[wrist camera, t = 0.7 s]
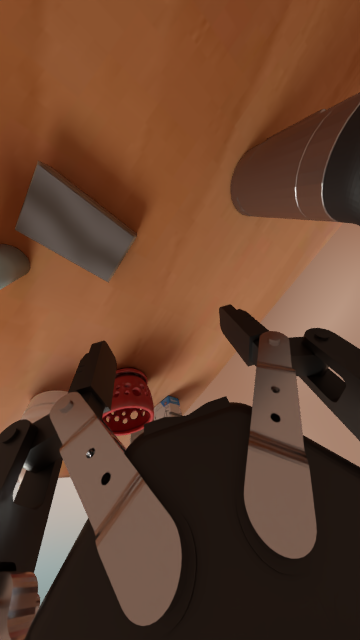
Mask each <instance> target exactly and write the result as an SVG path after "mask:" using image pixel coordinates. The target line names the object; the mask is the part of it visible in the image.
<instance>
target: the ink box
mask: <svg viewBox="0 0 360 640" xmlns="http://www.w3.org/2000/svg"><path fill="white" fill-rule="evenodd" d="M174 416H182V413H181V409H180V404H179V400H178V398H174V397H171V396H167V397H166V398H165V399H164V400H163V401H161V402H160V403H159V404H158V405H157V406H156V407H154V421H155V420H157V419H160V418H163V417H174Z"/></svg>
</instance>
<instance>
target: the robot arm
mask: <svg viewBox="0 0 360 640" xmlns="http://www.w3.org/2000/svg"><path fill="white" fill-rule="evenodd" d="M231 197H232V201H233V204H234V206H235V208H236V209H237V210H238V211H239V212H240V213H241V214H243V215H246V216H256V217H269V218H285V219H300V220H315V221H332V222H344V223H353V224H357V225H359V226H360V92H359V93H358V94H356V95H354V96H352V97H350V98H348V99H346V100H344V101H343V102H341V103H339V104H337V105H335V106H333V107H331V108H329V109H327V110H326V109H322V110H320V111H318V112H316V113H314V114H312V115H310V116H308V117H307V118H305V119H303V120H301V121H299V122H297V123H295V124H293V125H292V126H290V127H288V128H286V129H284V130H282V131H280V132H279V133H277V134H275V135H273V136H271V137H269V138H268V139H267V140H266V141H265V142H263V143H261V144H259V145H257V146H255V147H254V148H252V149H250V150H249V151H248V152H247V153H245V154H244V155H243V157H242V158H241V159H240V161H239V162H238V164H237V166H236V168H235V170H234V173H233V176H232V181H231ZM219 315H220V327H221V330H222V332H223V334H224V335H225V337H226V338H227V339H228V341H229V342H230V343H231V344H232V346H233V347H234V348H235V350H236V351H237V352H238V354H239V355H240V356H241V358H242V359H243V360H244V362H245V363H246V364H247V365H248V366H251V365H255V366H256V377H255V387H254V397H253V406H252V407H251V406H248V405H246V404H242V403H234V402H231V403H230V402H229V401H228V399H227V397H222V398H220V399H217V400H214V401H211V402H208V403H206V404H204V405H203V406H201V407H200V408H198V409H197V410H195V411H194V412H192V413H191V414H189V415H187V416H174V417H163V418H160V419H157V420H155V421H152V422H149V423H146V424H144V432H143V433H142V434H140V435H139V436H138V437H137V438H136V439H135V440H134V441H133V442H132V443H131V444H130V445H129V446H128V448H127V449H126V448H125V447H124V446H123V444H122V443H121V442H120V441H119V440H118V438H117V437H116V436H115V434H114V433H113V432H112V431H111V429H110V428H109V427H108V426H107V424H106V423H105V422H104V421H103V419H102V417H103V413H105V412H108V411H111V405H112V397H113V390H114V382H115V374H116V367H117V363H116V359H115V356H114V355H113V353H112V351H111V349H110V348H109V346H108V344H107V343H106V341H101V342H98V343H94V344H92V345H91V348H90V351H89V353H87V354H85V356H84V357H83V358H82V359H81V360H80V363H79V366H78V368H77V371H76V374H75V376H74V379H73V381H72V384H71V386H70V389H69V391H68V394H66V395H64V396H63V397H61V398H60V399H59V400H58V401H57V402H56V403H55V404H54V405H53V407H52V409H51V411H50V413H49V414H48V415H46V416H44V417H43V418H41V419H39V420H37V421H36V422H34V423H31V422H30V421H29V420H27V419H22V420H19V421H17V422H15V423H13V424H11V425H10V426H9V427H7V428H6V429H5V430H4V431H3V432H2V433H1V434H0V640H360V467H359V466H357V465H355V464H353V463H351V462H350V461H348V460H346V459H344V458H343V457H341V456H339V455H337V454H336V453H334V452H332V451H330V450H328V449H327V448H325V447H323V446H321V445H319V444H318V443H316V442H314V441H312V440H311V439H309V438H307V437H305V436H304V435H303V433H302V424H301V415H300V406H299V398H298V388H297V379H296V376H299V377H300V378H301V379H302V380H303V381H304V382H305V383H306V384H307V385H308V386H309V388H310V389H311V390H312V391H313V392H314V393H315V394H316V395H317V396H318V397H319V398H320V399H321V400H322V401H323V402H324V403H325V405H326V406H327V407H328V408H329V409H330V410H331V411H332V412H333V413H334V414H335V415H336V416H337V417H338V418H339V419H340V420H341V421H342V423H343V424H345V426H346V427H347V428H348V429H349V430H350V431H351V432H352V433H353V434H354V435H355V436H356V437H357V439H358V440H359V441H360V349H359V348H357V347H355V346H354V345H352V344H351V343H349V342H348V341H346V340H344V339H343V338H341V337H340V336H338V335H337V334H335V333H333V332H331V331H329V330H326V329H321V328H312V329H309V330H307V331H306V332H305V334H304V337H293V338H288V337H287V336H285V335H284V334H282V333H280V332H275V331H269V330H267V329H266V328H265V327H264V326H263V325H262V324H260V323H259V322H258V321H257V320H255V319H254V318H253V317H251V315H250V314H249V313H247V312H246V311H243V310H241V309H238V310H236V309H235V308H234V307H233V306H232V305H231V304H230V305H226V306H223V307H220V308H219ZM328 367H330V368H331V369H333V370H334V371H335V372H336V373H338V374H339V375H340V376H341V377H342V378H343V379H344V381H345V382H344V381H343V380H341V379H340V378H339V377H338V376H337V375H336V374H334V373H333V372H332V371H331V370H330V369H328ZM62 460H63V461H64V463H65V465H66V467H67V470H68V472H69V474H70V477H71V479H72V481H73V483H74V486H75V488H76V490H77V492H78V495H79V497H80V499H81V502H82V504H83V506H84V509H85V511H86V513H87V515H88V520H87V521H86V523H85V525H84V527H83V529H82V530H81V532H80V534H79V536H78V538H77V540H76V541H75V543H74V545H73V547H72V549H71V551H70V553H69V554H68V556H67V558H66V560H65V562H64V563H63V565H62V567H61V569H60V571H59V573H58V574H57V576H56V578H55V580H54V582H53V584H52V585H51V587H50V589H49V591H48V593H47V595H46V596H45V598H44V600H43V602H42V604H41V606H40V597H39V595H38V594H37V593H38V582H37V578H36V576H35V574H34V570H35V566H36V562H37V558H38V554H39V550H40V546H41V542H42V539H43V535H44V530H45V527H46V523H47V519H48V515H49V511H50V507H51V504H52V500H53V495H54V491H55V487H56V484H57V480H58V476H59V472H60V468H61V464H62ZM22 468H23V469H26V472H25V474H24V477H23V480H22V482H21V485H20V487H19V490H18V492H17V495H16V497H15V500H14V502H13V496H12V495H13V490H14V488H15V485H16V483H17V480H18V478H19V475H20V473H21V471H22ZM39 606H40V607H39Z"/></svg>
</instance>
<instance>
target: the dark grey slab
mask: <svg viewBox="0 0 360 640" xmlns="http://www.w3.org/2000/svg"><path fill="white" fill-rule="evenodd" d="M15 230H16V231H18V232H20V233H22V234H23V235H25V236H27V237H29V238H31V239H32V240H34V241H36V242H38V243H39V244H41V245H43V246H45V247H46V248H48V249H50V250H52V251H54V252H55V253H57V254H59V255H61V256H62V257H64V258H66V259H68V260H69V261H71V262H73V263H75V264H76V265H78V266H80V267H82V268H84V269H85V270H87V271H89V272H91V273H92V274H94V275H96V276H98V277H99V278H101V279H103V280H105V281H107V282H108V283H109V281H110V279H111V278H112V276H113V275H114V273H115V271H116V270H117V268H118V266H119V265H120V263H121V261H122V260H123V258H124V257H125V255H126V253H127V252H128V250H129V248H130V247H131V245H132V244H133V242H134V240H135V239H136V237H137V234H136V233H135V232H134V231H133V230H131V229H130V228H129V227H127V226H126V225H125V224H124V223H122V222H121V221H120V220H118V219H117V218H116V217H115V216H113V215H112V214H111V213H109V212H108V211H107V210H106V209H104V208H103V207H102V206H100V205H99V204H98V203H97V202H95V201H94V200H93V199H91V198H90V197H89V196H88V195H86V194H85V193H84V192H82V191H81V190H80V189H79V188H77V187H76V186H75V185H73V184H72V183H71V182H70V181H68V180H67V179H66V178H64V177H63V176H62V175H61V174H59V173H58V172H57V171H56V170H54V169H53V168H52V167H50V166H48V165H46V164H44V163H42V162H40V161H38V163H37V166H36V168H35V171H34V174H33V177H32V180H31V183H30V186H29V189H28V192H27V195H26V198H25V201H24V203H23V206H22V209H21V212H20V215H19V218H18V221H17V224H16V227H15Z"/></svg>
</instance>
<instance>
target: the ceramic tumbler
mask: <svg viewBox="0 0 360 640" xmlns="http://www.w3.org/2000/svg"><path fill="white" fill-rule="evenodd" d="M29 270H30V262H29V260H28V258H27V257H26V255H25V254H24V253H23V252H21V251H20V250H19V249H17V248H15V247H13V246H10V245H6V244H0V289H2V288H4V287H5V286H7V285H9V284H10V283H12V282H14V281H15V280H17V279H19V278H21V277H22V276H24V275H26V274H27V273H28V272H29Z"/></svg>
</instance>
